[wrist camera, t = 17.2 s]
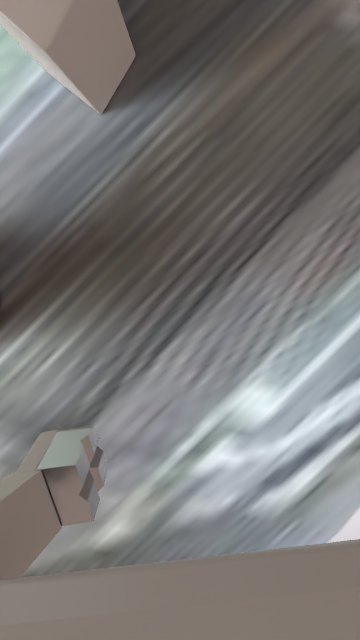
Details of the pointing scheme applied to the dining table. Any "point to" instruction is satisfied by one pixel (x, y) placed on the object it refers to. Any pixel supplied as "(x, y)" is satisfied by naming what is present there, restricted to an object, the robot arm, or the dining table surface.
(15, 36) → the milk carton
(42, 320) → the dining table surface
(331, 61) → the dining table surface
